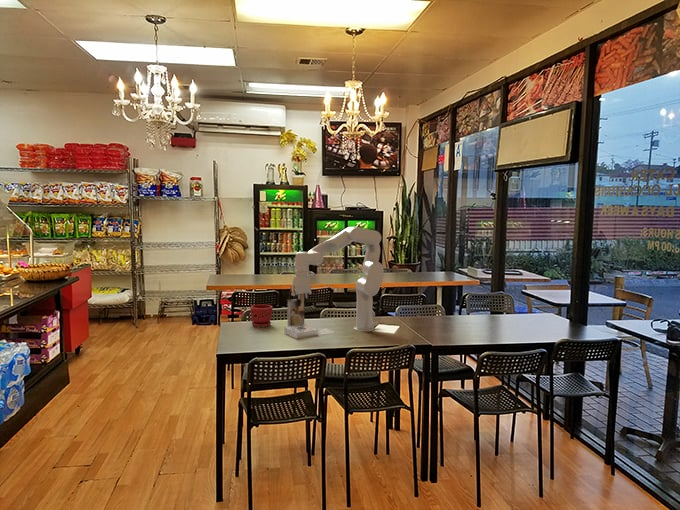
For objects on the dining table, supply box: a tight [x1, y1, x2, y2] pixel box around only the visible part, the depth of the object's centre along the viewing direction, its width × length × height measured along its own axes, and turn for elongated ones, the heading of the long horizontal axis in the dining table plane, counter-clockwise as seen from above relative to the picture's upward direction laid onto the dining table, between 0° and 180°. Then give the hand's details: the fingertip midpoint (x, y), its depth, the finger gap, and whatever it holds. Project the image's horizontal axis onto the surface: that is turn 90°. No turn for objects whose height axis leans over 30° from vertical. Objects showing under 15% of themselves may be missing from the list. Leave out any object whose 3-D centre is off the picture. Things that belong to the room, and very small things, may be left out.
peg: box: [299, 294, 305, 312], centre depth 266 cm, size 3×3×10 cm
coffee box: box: [287, 298, 305, 327], centre depth 286 cm, size 9×6×16 cm
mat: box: [318, 327, 336, 336], centre depth 274 cm, size 10×10×1 cm
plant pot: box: [250, 304, 273, 328], centre depth 286 cm, size 13×13×12 cm
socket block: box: [283, 323, 319, 340], centre depth 268 cm, size 14×14×4 cm
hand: (301, 305), depth 267 cm, fingers closed on peg, 3 cm apart
